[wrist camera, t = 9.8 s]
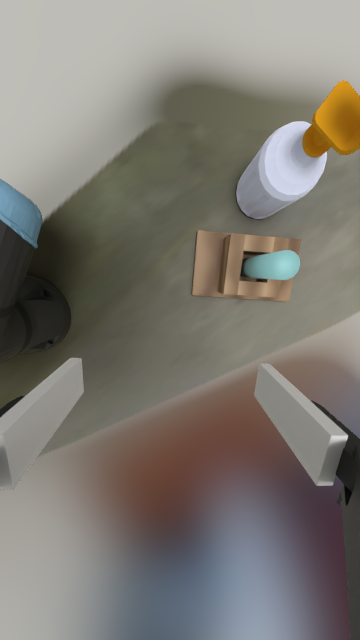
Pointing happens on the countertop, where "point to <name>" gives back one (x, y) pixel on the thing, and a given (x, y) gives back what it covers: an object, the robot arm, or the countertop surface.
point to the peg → (271, 265)
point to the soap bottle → (299, 155)
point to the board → (213, 265)
